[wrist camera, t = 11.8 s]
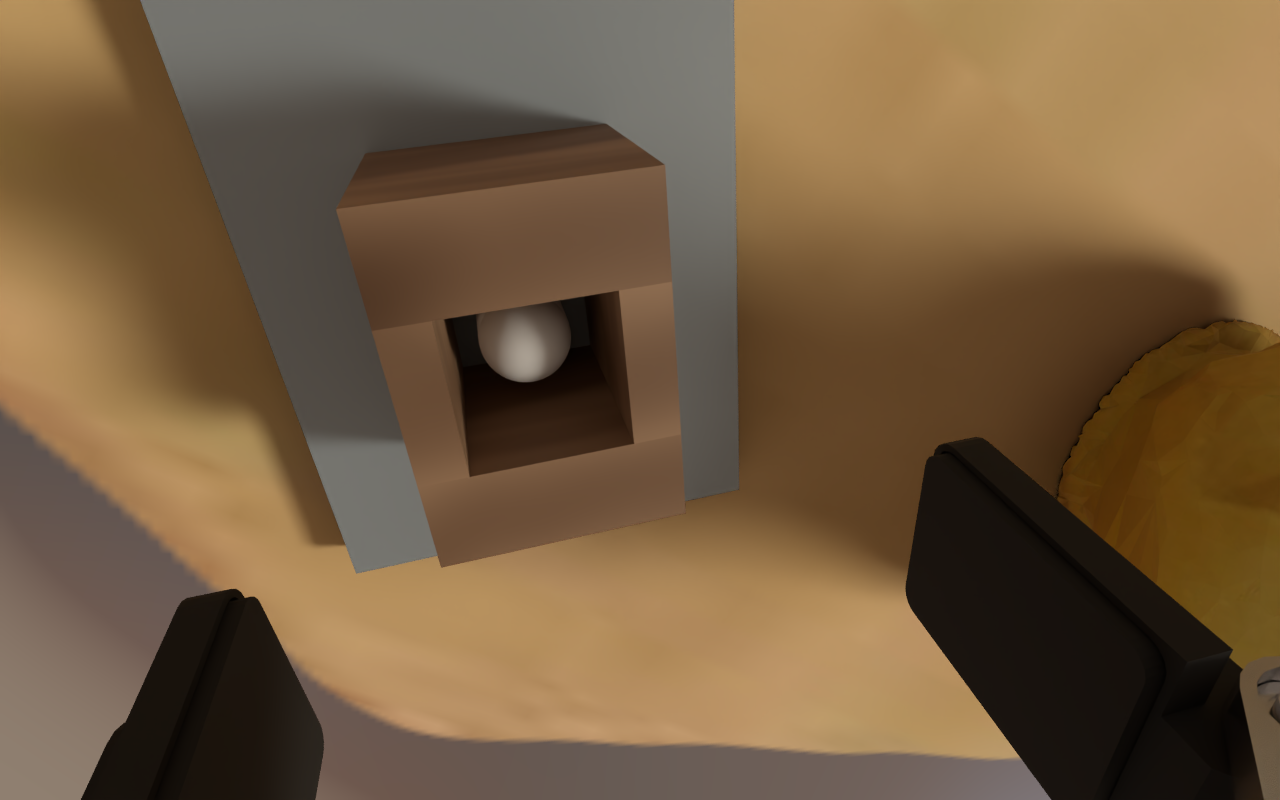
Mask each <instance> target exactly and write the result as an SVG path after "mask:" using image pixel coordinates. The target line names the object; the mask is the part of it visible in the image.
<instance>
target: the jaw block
mask: <svg viewBox="0 0 1280 800" xmlns="http://www.w3.org/2000/svg"><path fill="white" fill-rule="evenodd" d="M336 211H337V215H338V218H339V221H340V225H341V228H342V232H343V235H344V238H345V242H346V245H347V249H348V252H349V256H350V259H351V262H352V266H353V269H354V273H355V276H356V279H357V283H358V286H359V290H360V293H361V296H362V300H363V303H364V307H365V310H366V313H367V317H368V320H369V324H370V327H371V330H372V334H373V337H374V341H375V344H376V347H377V351H378V354H379V358H380V361H381V364H382V368H383V371H384V375H385V378H386V381H387V385H388V388H389V392H390V395H391V398H392V402H393V405H394V409H395V412H396V415H397V419H398V422H399V426H400V429H401V432H402V436H403V439H404V443H405V446H406V450H407V453H408V456H409V460H410V463H411V467H412V470H413V473H414V477H415V480H416V484H417V487H418V490H419V494H420V497H421V501H422V504H423V507H424V511H425V514H426V518H427V521H428V524H429V528H430V531H431V535H432V538H433V541H434V545H435V548H436V552H437V555H438V558H439V562H440V565H441V567H446V566H450V565H455V564H459V563H464V562H468V561H473V560H477V559H482V558H486V557H491V556H495V555H500V554H504V553H509V552H513V551H518V550H522V549H527V548H531V547H536V546H540V545H545V544H549V543H554V542H558V541H563V540H567V539H572V538H576V537H581V536H585V535H590V534H594V533H599V532H603V531H608V530H612V529H617V528H621V527H626V526H630V525H635V524H639V523H644V522H648V521H653V520H657V519H662V518H666V517H671V516H675V515H680V514H684V513H686V510H685V493H684V476H683V459H682V442H681V425H680V408H679V391H678V374H677V357H676V340H675V323H674V306H673V289H672V272H671V255H670V238H669V221H668V204H667V187H666V170H665V164H663V163H662V162H660V161H659V160H658V159H656V158H655V157H653V156H652V155H650V154H649V153H648V152H646V151H645V150H643V149H642V148H640V147H639V146H638V145H636V144H635V143H633V142H632V141H630V140H629V139H628V138H626V137H625V136H623V135H622V134H620V133H619V132H617V131H616V130H615V129H613V128H612V127H610V126H609V125H607V124H600V125H592V126H584V127H576V128H568V129H560V130H551V131H543V132H535V133H527V134H519V135H511V136H503V137H494V138H486V139H478V140H470V141H462V142H454V143H445V144H437V145H429V146H421V147H413V148H405V149H397V150H388V151H380V152H372V153H365V155H364V157H363V159H362V161H361V162H360V164H359V166H358V168H357V170H356V172H355V174H354V176H353V178H352V180H351V181H350V183H349V185H348V187H347V189H346V191H345V193H344V195H343V197H342V199H341V200H340V202H339V204H338V206H337V208H336ZM583 296H584V298H585V306H586V314H587V322H588V330H589V338H590V345H587V346H582V347H576V348H570V349H569V352H568V355H567V357H566V359H565V361H564V362H563V364H562V365H561V366H560V367H559V368H558V369H557V370H556V371H555V372H554V373H553V374H551V375H550V376H548V377H546V378H544V379H541V380H538V381H534V382H517V381H512V380H509V379H507V378H505V377H503V376H501V375H500V374H498V373H497V372H495V371H494V370H493V369H492V368H491V367H490V366H489V365H488V363H485V364H479V365H474V366H468V367H463V365H462V361H461V356H460V352H459V347H458V343H457V339H456V334H455V330H454V326H453V321H452V318H455V317H461V316H467V315H473V314H479V313H485V312H491V311H497V310H503V309H509V308H516V307H522V306H528V305H534V304H540V303H546V302H552V301H558V300H564V299H570V298H577V297H583Z"/></svg>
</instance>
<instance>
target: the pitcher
mask: <svg viewBox="0 0 1280 800" xmlns="http://www.w3.org/2000/svg"><path fill="white" fill-rule="evenodd" d="M1128 370H1129V373H1128V375H1127V376H1123V377H1122V379H1121V381H1120V383H1118V384H1116V385H1115V386H1114V387H1113V389H1112V391H1111V393H1110V395H1107V396H1103V398H1102V399H1101V401H1100V403H1099V406H1100V408H1101V409H1100V410H1099V411H1097V412H1096V413H1094V416H1093V419H1091V420H1089V421H1087V423H1086V424H1085V425H1084V427H1083V432H1082V433H1083V434H1081V435H1079V436H1078V437H1079V438H1080V440H1079V442H1078V444H1077V446H1073V447H1072V450H1071V454H1070V455H1071V458H1069V459H1068V460H1067V462H1066V463H1065V464H1064V466H1063V468H1062V471H1063V477H1062V478H1061V480H1060V484H1059V496H1058V497H1057V501H1058V502H1060V503H1061V504H1062V505H1063V506H1064V507H1066V508H1067V509H1068V510H1069V511H1070V512H1071V513H1073V514H1074V515H1075V516H1076V517H1077V518H1079V519H1080V520H1081V521H1082V522H1083V523H1084V524H1086V525H1087V526H1088V527H1089V528H1090V529H1092V530H1093V531H1094V532H1095V533H1096V534H1097V535H1099V536H1100V537H1101V538H1102V539H1103V540H1104V541H1106V542H1107V543H1108V544H1109V545H1110V546H1112V547H1113V548H1114V549H1115V550H1116V551H1117V552H1119V553H1120V554H1121V555H1122V556H1123V557H1125V558H1126V559H1127V560H1128V561H1129V562H1130V563H1132V564H1133V565H1134V566H1135V567H1136V568H1138V569H1139V570H1140V571H1141V572H1142V573H1143V574H1145V575H1146V576H1147V577H1148V578H1149V579H1151V580H1152V581H1153V582H1154V583H1155V584H1156V585H1158V586H1159V587H1160V588H1161V589H1162V590H1164V591H1165V592H1166V593H1167V594H1168V595H1169V596H1171V597H1172V598H1173V599H1174V600H1175V601H1176V602H1178V603H1179V604H1180V605H1181V606H1182V607H1184V608H1185V609H1186V610H1187V611H1188V612H1189V613H1191V614H1192V615H1193V616H1194V617H1195V618H1197V619H1198V620H1199V621H1200V622H1201V623H1202V624H1204V625H1205V626H1206V627H1207V628H1208V629H1210V630H1211V631H1212V632H1213V633H1214V634H1215V635H1217V636H1218V637H1219V638H1220V639H1221V640H1223V641H1224V642H1225V643H1226V644H1227V645H1228V646H1230V647H1231V648H1232V649H1233V651H1232V653H1231V655H1230V657H1229V658H1230V659H1232V660H1233V661H1234V662H1235V663H1236V664H1237V665H1239V666H1240V667H1241V668H1242V669H1244V668H1245V667H1246V665H1247V664H1248V663H1249V662H1252V661H1254V660H1257V659H1259V658H1262V657H1271V656H1280V337H1279V336H1278V334H1274V332H1273V329H1272V330H1269V329H1267V328H1266V327H1265V328H1263V327H1262V326H1260V325H1256V324H1254V323H1247V322H1238V321H1236V320H1235V319H1234V321H1233V322H1228V323H1225V322H1223V321H1220V322H1216V323H1213V324H1211V325H1210V326H1209V327H1207V328H1206V329H1201V328H1189V329H1187V330H1186V331H1182V332H1181V333H1180V334H1178V335H1177V336H1176V337H1175V338H1173V339H1172V340H1171V341H1170V342H1168V343H1166V344H1164V345H1162V346H1161V348H1160V349H1155V350H1152V351H1151V352H1150V353H1145V355H1144V356H1143V357H1142V358H1141V360H1140V361H1135V363H1134V365H1133V367H1132V368H1130V369H1128Z"/></svg>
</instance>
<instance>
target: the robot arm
mask: <svg viewBox="0 0 1280 800" xmlns="http://www.w3.org/2000/svg"><path fill="white" fill-rule="evenodd" d="M906 596H907V600H908V603H909V605H910V607H911V609H912V611H913V612H914V614H915V615H916V616H917V618H918V619H919V620H920V622H921V623H922V625H923V626H924V627H925V629H926V630H927V631H928V633H929V634H930V635H931V637H932V638H933V639H934V641H935V642H936V644H937V645H938V646H939V648H940V649H941V650H942V652H943V653H944V654H945V656H946V657H947V658H948V660H949V661H950V663H951V664H952V665H953V667H954V668H955V669H956V671H957V672H958V673H959V675H960V676H961V678H962V679H963V680H964V682H965V683H966V684H967V686H968V687H969V688H970V690H971V691H972V692H973V694H974V695H975V697H976V698H977V699H978V701H979V702H980V703H981V705H982V706H983V707H984V709H985V710H986V711H987V713H988V714H989V716H990V717H991V718H992V720H993V721H994V722H995V724H996V725H997V726H998V728H999V729H1000V730H1001V732H1002V733H1003V735H1004V736H1005V737H1006V739H1007V740H1008V741H1009V743H1010V744H1011V745H1012V747H1013V748H1014V749H1015V751H1016V752H1017V754H1018V755H1019V756H1020V758H1021V759H1022V760H1023V762H1024V763H1025V764H1026V766H1027V767H1028V769H1029V770H1030V771H1031V773H1032V774H1033V775H1034V777H1035V778H1036V779H1037V781H1038V782H1039V783H1040V785H1041V786H1042V788H1043V789H1044V790H1045V792H1046V793H1047V794H1048V796H1049V797H1050V798H1051V800H1280V656H1271V657H1262V658H1259V659H1257V660H1254V661H1252V662H1249V663H1248V664H1247V665H1246V667H1245V668H1244V669H1242V668H1241V667H1240V666H1239V665H1237V664H1236V663H1235V662H1234V661H1233V660H1232V659H1230V658H1229V657H1230V655H1231V653H1232V651H1233V649H1232V648H1231V647H1230V646H1228V645H1227V644H1226V643H1225V642H1224V641H1223V640H1221V639H1220V638H1219V637H1218V636H1217V635H1215V634H1214V633H1213V632H1212V631H1211V630H1210V629H1208V628H1207V627H1206V626H1205V625H1204V624H1202V623H1201V622H1200V621H1199V620H1198V619H1197V618H1195V617H1194V616H1193V615H1192V614H1191V613H1189V612H1188V611H1187V610H1186V609H1185V608H1184V607H1182V606H1181V605H1180V604H1179V603H1178V602H1176V601H1175V600H1174V599H1173V598H1172V597H1171V596H1169V595H1168V594H1167V593H1166V592H1165V591H1164V590H1162V589H1161V588H1160V587H1159V586H1158V585H1156V584H1155V583H1154V582H1153V581H1152V580H1151V579H1149V578H1148V577H1147V576H1146V575H1145V574H1143V573H1142V572H1141V571H1140V570H1139V569H1138V568H1136V567H1135V566H1134V565H1133V564H1132V563H1130V562H1129V561H1128V560H1127V559H1126V558H1125V557H1123V556H1122V555H1121V554H1120V553H1119V552H1117V551H1116V550H1115V549H1114V548H1113V547H1112V546H1110V545H1109V544H1108V543H1107V542H1106V541H1104V540H1103V539H1102V538H1101V537H1100V536H1099V535H1097V534H1096V533H1095V532H1094V531H1093V530H1092V529H1090V528H1089V527H1088V526H1087V525H1086V524H1084V523H1083V522H1082V521H1081V520H1080V519H1079V518H1077V517H1076V516H1075V515H1074V514H1073V513H1071V512H1070V511H1069V510H1068V509H1067V508H1066V507H1064V506H1063V505H1062V504H1061V503H1060V502H1058V501H1057V500H1056V499H1055V498H1054V497H1053V496H1051V495H1050V494H1049V493H1048V492H1047V491H1045V490H1044V489H1043V488H1042V487H1041V486H1040V485H1038V484H1037V483H1036V482H1035V481H1034V480H1033V479H1031V478H1030V477H1029V476H1028V475H1027V474H1025V473H1024V472H1023V471H1022V470H1021V469H1020V468H1018V467H1017V466H1016V465H1015V464H1014V463H1012V462H1011V461H1010V460H1009V459H1008V458H1007V457H1005V456H1004V455H1003V454H1002V453H1001V452H999V451H998V450H997V449H996V448H995V447H994V446H992V445H991V444H990V443H989V442H988V441H986V440H984V439H983V438H979V437H974V438H969V439H964V440H959V441H954V442H949V443H945V444H942V445H939V446H938V447H937V449H936V450H935V453H934V456H931V457H929V458H928V460H927V462H926V465H925V471H924V477H923V483H922V489H921V495H920V501H919V507H918V514H917V520H916V526H915V532H914V538H913V544H912V550H911V556H910V562H909V568H908V575H907V581H906ZM323 750H324V740H323V733H322V728H321V725H320V723H319V721H318V719H317V717H316V715H315V713H314V711H313V709H312V706H311V705H310V702H309V701H308V698H307V696H306V694H305V692H304V690H303V688H302V686H301V684H300V682H299V680H298V678H297V676H296V674H295V672H294V671H293V668H292V666H291V664H290V662H289V660H288V658H287V656H286V654H285V652H284V650H283V648H282V646H281V644H280V642H279V640H278V638H277V636H276V634H275V632H274V630H273V628H272V626H271V624H270V622H269V620H268V618H267V616H266V614H265V612H264V610H263V608H262V606H261V604H260V602H259V601H258V599H257V598H255V597H248V598H244V596H243V595H242V593H241V592H240V591H238V590H237V589H229V590H224V591H219V592H214V593H210V594H205V595H200V596H195V597H190V598H186V599H185V600H183V601H182V602H181V603H180V605H179V607H178V608H177V610H176V612H175V614H174V616H173V619H172V621H171V623H170V625H169V628H168V630H167V632H166V634H165V637H164V639H163V641H162V643H161V646H160V648H159V650H158V652H157V654H156V656H155V659H154V661H153V663H152V665H151V667H150V670H149V672H148V674H147V676H146V678H145V681H144V683H143V685H142V687H141V690H140V692H139V694H138V696H137V698H136V701H135V703H134V705H133V708H132V709H131V712H130V714H129V716H128V718H127V720H126V722H125V723H123V724H122V725H121V726H120V727H119V728H118V729H117V730H116V731H115V732H114V733H113V735H112V736H111V738H110V740H109V742H108V743H107V745H106V747H105V749H104V751H103V753H102V755H101V757H100V760H99V762H98V764H97V766H96V768H95V771H94V773H93V775H92V777H91V779H90V781H89V783H88V785H87V788H86V790H85V792H84V794H83V796H82V798H81V800H315V798H316V792H317V787H318V781H319V775H320V770H321V764H322V758H323Z"/></svg>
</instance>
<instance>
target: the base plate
mask: <svg viewBox="0 0 1280 800" xmlns="http://www.w3.org/2000/svg"><path fill="white" fill-rule="evenodd" d="M140 1H141V4H142V6H143V9H144V12H145V14H146V17H147V20H148V22H149V25H150V28H151V30H152V33H153V36H154V38H155V41H156V44H157V46H158V49H159V52H160V54H161V57H162V59H163V62H164V65H165V67H166V70H167V73H168V75H169V78H170V81H171V83H172V86H173V89H174V91H175V94H176V97H177V99H178V102H179V105H180V107H181V110H182V113H183V115H184V118H185V120H186V123H187V126H188V128H189V131H190V134H191V136H192V139H193V142H194V144H195V147H196V150H197V152H198V155H199V158H200V160H201V163H202V166H203V168H204V171H205V174H206V176H207V179H208V181H209V184H210V187H211V189H212V192H213V195H214V197H215V200H216V203H217V205H218V208H219V211H220V213H221V216H222V219H223V221H224V224H225V227H226V229H227V232H228V235H229V237H230V240H231V242H232V245H233V248H234V250H235V253H236V256H237V258H238V261H239V264H240V266H241V269H242V272H243V274H244V277H245V280H246V282H247V285H248V288H249V290H250V293H251V296H252V298H253V301H254V303H255V306H256V309H257V311H258V314H259V317H260V319H261V322H262V325H263V327H264V330H265V333H266V335H267V338H268V341H269V343H270V346H271V349H272V351H273V354H274V357H275V359H276V362H277V364H278V367H279V370H280V372H281V375H282V378H283V380H284V383H285V386H286V388H287V391H288V394H289V396H290V399H291V402H292V404H293V407H294V410H295V412H296V415H297V418H298V420H299V423H300V425H301V428H302V431H303V433H304V436H305V439H306V441H307V444H308V447H309V449H310V452H311V455H312V457H313V460H314V463H315V465H316V468H317V471H318V473H319V476H320V479H321V481H322V484H323V486H324V489H325V492H326V494H327V497H328V500H329V502H330V505H331V508H332V510H333V513H334V516H335V518H336V521H337V524H338V526H339V529H340V532H341V534H342V537H343V540H344V542H345V545H346V547H347V550H348V553H349V555H350V558H351V561H352V563H353V566H354V569H355V571H356V574H357V573H361V572H366V571H370V570H375V569H379V568H384V567H388V566H393V565H398V564H402V563H407V562H411V561H416V560H420V559H425V558H429V557H434V556H438V555H437V552H436V548H435V545H434V541H433V538H432V535H431V531H430V528H429V524H428V521H427V518H426V514H425V511H424V507H423V504H422V501H421V497H420V494H419V490H418V487H417V484H416V480H415V477H414V473H413V470H412V467H411V463H410V460H409V456H408V453H407V450H406V446H405V443H404V439H403V436H402V432H401V429H400V426H399V422H398V419H397V415H396V412H395V409H394V405H393V402H392V398H391V395H390V392H389V388H388V385H387V381H386V378H385V375H384V371H383V368H382V364H381V361H380V358H379V354H378V351H377V347H376V344H375V341H374V337H373V334H372V330H371V327H370V324H369V320H368V317H367V313H366V310H365V307H364V303H363V300H362V296H361V293H360V290H359V286H358V283H357V279H356V276H355V273H354V269H353V266H352V262H351V259H350V256H349V252H348V249H347V245H346V242H345V238H344V235H343V232H342V228H341V225H340V221H339V218H338V215H337V211H336V208H337V206H338V204H339V202H340V200H341V199H342V197H343V195H344V193H345V191H346V189H347V187H348V185H349V183H350V181H351V180H352V178H353V176H354V174H355V172H356V170H357V168H358V166H359V164H360V162H361V161H362V159H363V157H364V155H365V153H372V152H380V151H388V150H397V149H405V148H413V147H421V146H429V145H437V144H445V143H454V142H462V141H470V140H478V139H486V138H494V137H503V136H511V135H519V134H527V133H535V132H543V131H551V130H560V129H568V128H576V127H584V126H592V125H600V124H607V125H609V126H610V127H612V128H613V129H615V130H616V131H617V132H619V133H620V134H622V135H623V136H625V137H626V138H628V139H629V140H630V141H632V142H633V143H635V144H636V145H638V146H639V147H640V148H642V149H643V150H645V151H646V152H648V153H649V154H650V155H652V156H653V157H655V158H656V159H658V160H659V161H660V162H662V163H663V164H665V170H666V187H667V204H668V221H669V238H670V255H671V272H672V289H673V306H674V323H675V340H676V357H677V374H678V391H679V408H680V425H681V442H682V459H683V476H684V493H685V501H689V500H694V499H698V498H703V497H707V496H712V495H716V494H721V493H725V492H730V491H735V490H739V425H738V332H737V239H736V146H735V53H734V0H140ZM452 321H453V326H454V330H455V334H456V339H457V343H458V347H459V352H460V356H461V361H462V365H463V367H468V366H474V365H479V364H485V363H488V365H489V366H490V367H491V368H492V369H493V370H494V371H495V372H497V373H498V374H500V375H501V376H503V377H505V378H507V379H509V380H512V381H517V382H534V381H538V380H541V379H544V378H546V377H548V376H550V375H551V374H553V373H554V372H555V371H556V370H557V369H558V368H559V367H560V366H561V365H562V364H563V362H564V361H565V359H566V357H567V355H568V352H569V349H570V348H576V347H582V346H587V345H590V338H589V330H588V322H587V314H586V306H585V298H584V296H583V297H577V298H570V299H564V300H558V301H552V302H546V303H540V304H534V305H528V306H522V307H516V308H509V309H503V310H497V311H491V312H485V313H479V314H473V315H467V316H461V317H455V318H452Z"/></svg>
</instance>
